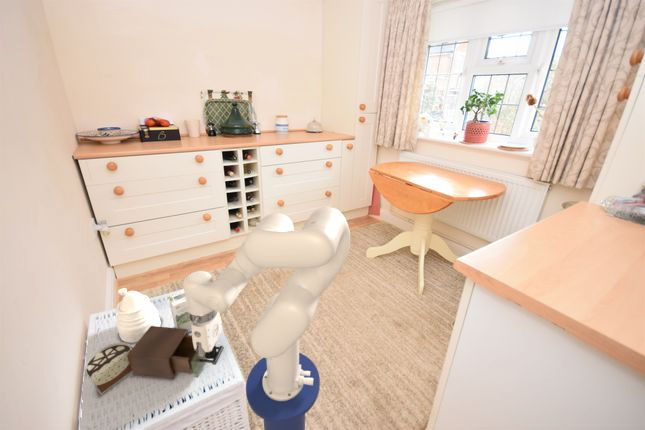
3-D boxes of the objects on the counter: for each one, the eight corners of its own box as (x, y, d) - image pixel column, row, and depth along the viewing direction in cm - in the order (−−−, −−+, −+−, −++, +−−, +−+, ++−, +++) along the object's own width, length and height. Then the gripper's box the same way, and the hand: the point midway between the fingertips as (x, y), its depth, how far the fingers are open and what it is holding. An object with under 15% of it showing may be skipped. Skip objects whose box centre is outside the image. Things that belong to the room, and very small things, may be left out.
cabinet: (191, 347, 99) (187, 329, 96) (172, 379, 89) (167, 359, 85) (156, 344, 100) (150, 325, 97) (133, 375, 89) (126, 355, 86)
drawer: (227, 351, 98) (225, 336, 95) (214, 379, 88) (212, 363, 85) (179, 346, 99) (176, 331, 96) (161, 374, 89) (157, 358, 86)
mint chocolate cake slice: (128, 357, 95) (120, 335, 91) (139, 366, 92) (131, 343, 88) (84, 387, 85) (74, 364, 81) (95, 399, 82) (84, 374, 78)
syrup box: (191, 320, 111) (185, 290, 105) (196, 330, 106) (190, 298, 100) (174, 327, 107) (167, 296, 101) (179, 337, 103) (172, 305, 97)
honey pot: (118, 347, 98) (103, 306, 91) (121, 322, 109) (108, 283, 101) (161, 334, 104) (150, 294, 97) (160, 311, 114) (150, 273, 107)
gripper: (204, 332, 77) (212, 379, 85) (225, 295, 91) (231, 338, 98) (177, 330, 78) (187, 377, 85) (202, 293, 91) (210, 336, 99)
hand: (211, 356), depth 92 cm, fingers closed
